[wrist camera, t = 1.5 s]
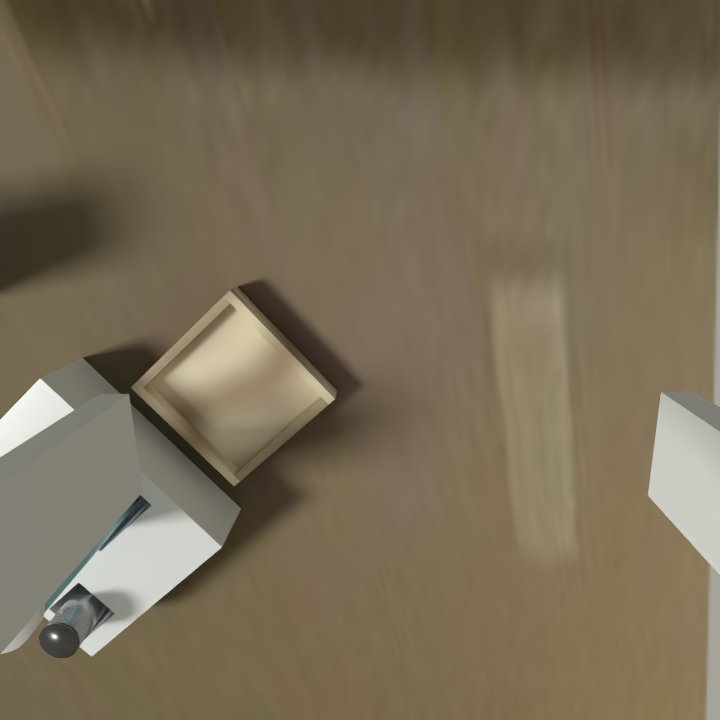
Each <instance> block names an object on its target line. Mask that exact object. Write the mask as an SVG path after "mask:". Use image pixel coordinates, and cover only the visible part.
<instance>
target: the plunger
mask: <svg viewBox="0 0 720 720" xmlns="http://www.w3.org/2000/svg"><path fill="white" fill-rule="evenodd" d="M106 608H107V606H106V605H104V604H103V603H102V602H101V601H100V600H99V599H97V598H96V597H95V596H94V595H93V594H92V593H90V592H89V591H88V590H87V589H86V588H85V587H84V586H82V585H81V584H80V585H79V587H78V588H77V589H76V590H75V591H74V593H73V594H72V595H71V596H70V597H69V599H68V600H67V601H66V602H65V604H64V605H63V606H62V607H61V608H60V610H59V611H58V612H57V613H56V614H55V616H54V617H53V618H52V619H51V621H50V622H49V623H48V624H47V625H46V627H45V628H44V629H43V630H42V632H41V633H40V636H39V641H40V644H41V646H42V648H43V649H44V650H45V651H46V652H47V653H48V654H50V655H51V656H54V657H57V658H67V657H70V656H72V655H73V654H74V653H75V652H76V651H77V649H78V648H79V647H80V645H81V644H82V642H83V641H84V639H85V638H86V637H87V635H88V634H89V632H90V631H91V630H92V628H93V627H94V625H95V624H96V623H97V621H98V620H99V618H100V617H101V615H102V614H103V613H104V611H105V610H106Z"/></svg>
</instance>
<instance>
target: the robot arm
mask: <svg viewBox="0 0 720 720" xmlns="http://www.w3.org/2000/svg"><path fill="white" fill-rule="evenodd" d="M141 493H142V485H141V478H140V470H139V463H138V456H137V448H136V441H135V434H134V426H133V419H132V412H131V404H130V397H129V394H99V395H97V396H96V397H94V398H93V399H91V400H90V401H88V402H86V403H85V404H83V405H82V406H80V407H79V408H77V409H75V410H74V411H72V412H71V413H69V414H68V415H66V416H64V417H63V418H61V419H60V420H58V421H57V422H55V423H53V424H52V425H50V426H49V427H47V428H46V429H44V430H42V431H41V432H39V433H38V434H36V435H34V436H33V437H31V438H30V439H28V440H27V441H25V442H23V443H22V444H20V445H19V446H17V447H16V448H14V449H12V450H11V451H9V452H8V453H6V454H5V455H3V456H1V457H0V654H1V653H2V652H3V651H4V650H5V648H6V647H7V646H8V645H9V644H10V643H11V642H12V640H13V639H14V638H15V637H16V636H17V635H18V634H19V632H20V631H21V630H22V629H23V628H24V627H25V626H26V624H27V623H28V622H29V621H30V620H31V619H32V618H33V616H34V615H35V614H36V613H37V612H38V611H39V610H40V608H41V607H42V606H43V605H44V604H45V603H46V602H47V600H48V599H49V598H50V597H51V596H52V595H53V594H54V592H55V591H56V590H57V589H58V588H59V587H60V586H61V584H62V583H63V582H64V581H65V580H66V579H67V578H68V576H69V575H70V574H71V573H72V572H73V571H74V570H75V568H76V567H77V566H78V565H79V564H80V563H81V562H82V560H83V559H84V558H85V557H86V556H87V555H88V554H89V553H90V551H91V550H92V549H93V548H94V547H95V546H96V545H97V543H98V542H99V541H100V540H101V539H102V538H103V537H104V535H105V534H106V533H107V532H108V531H109V530H110V529H111V527H112V526H113V525H114V524H115V523H116V522H117V521H118V519H119V518H120V517H121V516H122V515H123V514H124V513H125V511H126V510H127V509H128V508H129V507H130V506H131V505H132V503H133V502H134V501H135V500H136V499H137V498H138V497H139V495H140V494H141ZM648 496H649V497H650V498H651V499H652V500H653V501H654V503H655V504H656V505H657V506H658V507H659V508H660V509H661V510H662V511H663V513H664V514H665V515H666V516H667V517H668V518H669V519H670V520H671V521H672V523H673V524H674V525H675V526H676V527H677V528H678V529H679V530H680V531H681V533H682V534H683V535H684V536H685V537H686V538H687V539H688V540H689V541H690V542H691V544H692V545H693V546H694V547H695V548H696V549H697V550H698V551H699V552H700V554H701V555H702V556H703V557H704V558H705V559H706V560H707V561H708V562H709V564H710V565H711V566H712V567H713V568H714V569H715V570H716V571H717V572H718V573H719V575H720V407H718V406H716V405H715V404H713V403H711V402H710V401H708V400H706V399H705V398H703V397H701V396H700V395H698V394H697V393H695V392H661V397H660V405H659V413H658V421H657V429H656V437H655V445H654V453H653V461H652V468H651V476H650V484H649V492H648Z"/></svg>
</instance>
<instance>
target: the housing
mask: <svg viewBox="0 0 720 720" xmlns="http://www.w3.org/2000/svg"><path fill="white" fill-rule="evenodd" d="M99 394H120V393H119V392H118V391H117V390H116V389H115V388H114V387H113V386H112V385H111V384H110V383H109V382H107V381H106V380H105V379H104V378H103V377H102V376H101V375H100V374H99V373H98V372H97V371H96V370H95V369H94V368H93V367H92V366H91V365H90V364H89V363H88V362H86V361H85V360H84V359H83V358H81V359H79V360H77V361H75V362H73V363H71V364H69V365H67V366H64V367H62V368H60V369H58V370H56V371H54V372H52V373H50V374H48V375H46V376H44V377H42V378H40V379H39V380H38V381H37V382H36V383H35V384H34V385H33V386H32V387H31V388H30V389H29V391H28V392H27V393H26V394H25V395H24V396H23V397H22V398H21V399H20V400H19V401H18V402H17V403H16V404H15V405H14V406H13V407H12V408H11V409H10V410H9V411H8V412H7V413H6V414H5V416H4V417H3V418H2V419H1V420H0V457H1V456H3V455H5V454H6V453H8V452H9V451H11V450H12V449H14V448H16V447H17V446H19V445H20V444H22V443H23V442H25V441H27V440H28V439H30V438H31V437H33V436H34V435H36V434H38V433H39V432H41V431H42V430H44V429H46V428H47V427H49V426H50V425H52V424H53V423H55V422H57V421H58V420H60V419H61V418H63V417H64V416H66V415H68V414H69V413H71V412H72V411H74V410H75V409H77V408H79V407H80V406H82V405H83V404H85V403H86V402H88V401H90V400H91V399H93V398H94V397H96V396H97V395H99ZM130 404H131V403H130ZM131 412H132V419H133V426H134V434H135V441H136V448H137V456H138V463H139V470H140V478H141V485H142V493H141V494H140V495H141V496H142V497H143V498H142V499H141V500H140V502H139V503H138V504H137V505H136V506H135V507H134V509H133V510H132V511H131V512H130V513H129V514H128V516H127V517H126V518H125V519H124V520H123V521H122V523H121V524H120V525H119V526H118V527H117V528H116V530H115V531H114V532H113V533H112V534H111V536H110V537H109V538H108V539H107V540H106V541H105V543H104V544H103V545H102V546H101V547H100V548H99V550H98V551H97V552H96V553H95V554H94V555H93V557H92V558H91V559H90V560H89V561H88V562H87V564H86V565H85V566H84V567H83V568H82V570H81V571H80V572H79V573H78V574H77V575H76V577H75V578H74V579H73V580H72V581H71V582H70V584H69V585H68V586H67V587H66V588H65V589H64V591H63V592H62V593H61V594H60V595H59V596H58V598H57V599H56V600H55V601H54V602H53V604H52V605H51V606H50V607H49V608H48V609H47V611H46V612H45V613H44V617H45V618H46V619H47V620H49V621H51V619H52V618H53V617H54V616H55V614H56V613H57V612H58V611H59V610H60V608H61V607H62V606H63V605H64V604H65V602H66V601H67V600H68V599H69V597H70V596H71V595H72V594H73V593H74V591H75V590H76V589H77V588H78V587H79V585H80V584H81V585H82V586H84V587H85V588H86V589H87V590H88V591H89V592H90V593H92V594H93V595H94V596H95V597H96V598H97V599H99V600H100V601H101V602H102V603H103V604H104V605H106V606H107V608H106V610H105V611H104V613H103V614H102V615H101V617H100V618H99V620H98V621H97V623H96V624H95V625H94V627H93V628H92V630H91V631H90V632H89V634H88V635H87V637H86V638H85V639H84V641H83V642H82V644H81V645H80V647H81V648H82V649H83V650H84V651H86V652H87V653H88V654H89V655H90V656H93V655H94V654H95V653H96V652H98V651H99V650H100V649H101V648H102V647H104V646H105V645H106V644H107V643H108V642H110V641H111V640H112V639H113V638H114V637H115V636H117V635H118V634H119V633H120V632H121V631H123V630H124V629H125V628H126V627H127V626H129V625H130V624H131V623H132V622H133V621H135V620H136V619H137V618H138V617H139V616H141V615H142V614H143V613H144V612H145V611H147V610H148V609H149V608H150V607H151V606H152V605H154V604H155V603H156V602H157V601H158V600H160V599H161V598H162V597H163V596H164V595H166V594H167V593H168V592H169V591H170V590H172V589H173V588H174V587H175V586H176V585H178V584H179V583H180V582H181V581H182V580H184V579H185V578H186V577H187V576H188V575H189V574H191V573H192V572H193V571H194V570H195V569H197V568H198V567H199V566H200V565H201V564H203V563H204V562H205V561H206V560H207V559H209V558H210V557H211V556H212V555H213V554H215V553H216V552H217V551H218V550H219V549H221V548H222V546H223V544H224V542H225V540H226V538H227V536H228V534H229V532H230V530H231V528H232V526H233V524H234V522H235V520H236V518H237V516H238V514H239V512H240V510H241V508H240V507H239V506H238V505H237V504H236V503H235V502H234V501H233V500H232V499H231V498H229V497H228V496H227V495H226V494H225V493H224V492H223V491H222V490H221V489H220V488H219V487H218V486H217V485H216V484H215V483H214V482H213V481H212V480H211V479H210V478H208V477H207V476H206V475H205V474H204V473H203V472H202V471H201V470H200V469H199V468H198V467H197V466H196V465H195V464H194V463H193V462H192V461H191V460H190V459H188V458H187V457H186V456H185V455H184V454H183V453H182V452H181V451H180V450H179V449H178V448H177V447H176V446H175V445H174V444H173V443H172V442H171V441H170V440H168V439H167V438H166V437H165V436H164V435H163V434H162V433H161V432H160V431H159V430H158V429H157V428H156V427H155V426H154V425H153V424H152V423H151V422H150V421H149V420H147V419H146V418H145V417H144V416H143V415H142V414H141V413H140V412H139V411H138V410H137V409H136V408H135V407H134V406H133V405H132V404H131Z"/></svg>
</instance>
